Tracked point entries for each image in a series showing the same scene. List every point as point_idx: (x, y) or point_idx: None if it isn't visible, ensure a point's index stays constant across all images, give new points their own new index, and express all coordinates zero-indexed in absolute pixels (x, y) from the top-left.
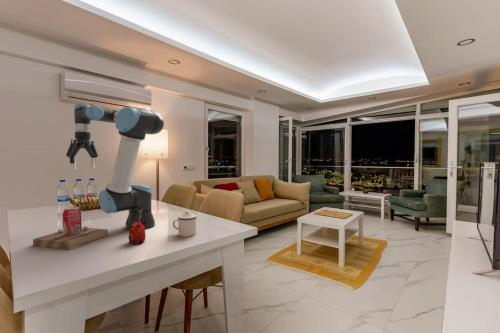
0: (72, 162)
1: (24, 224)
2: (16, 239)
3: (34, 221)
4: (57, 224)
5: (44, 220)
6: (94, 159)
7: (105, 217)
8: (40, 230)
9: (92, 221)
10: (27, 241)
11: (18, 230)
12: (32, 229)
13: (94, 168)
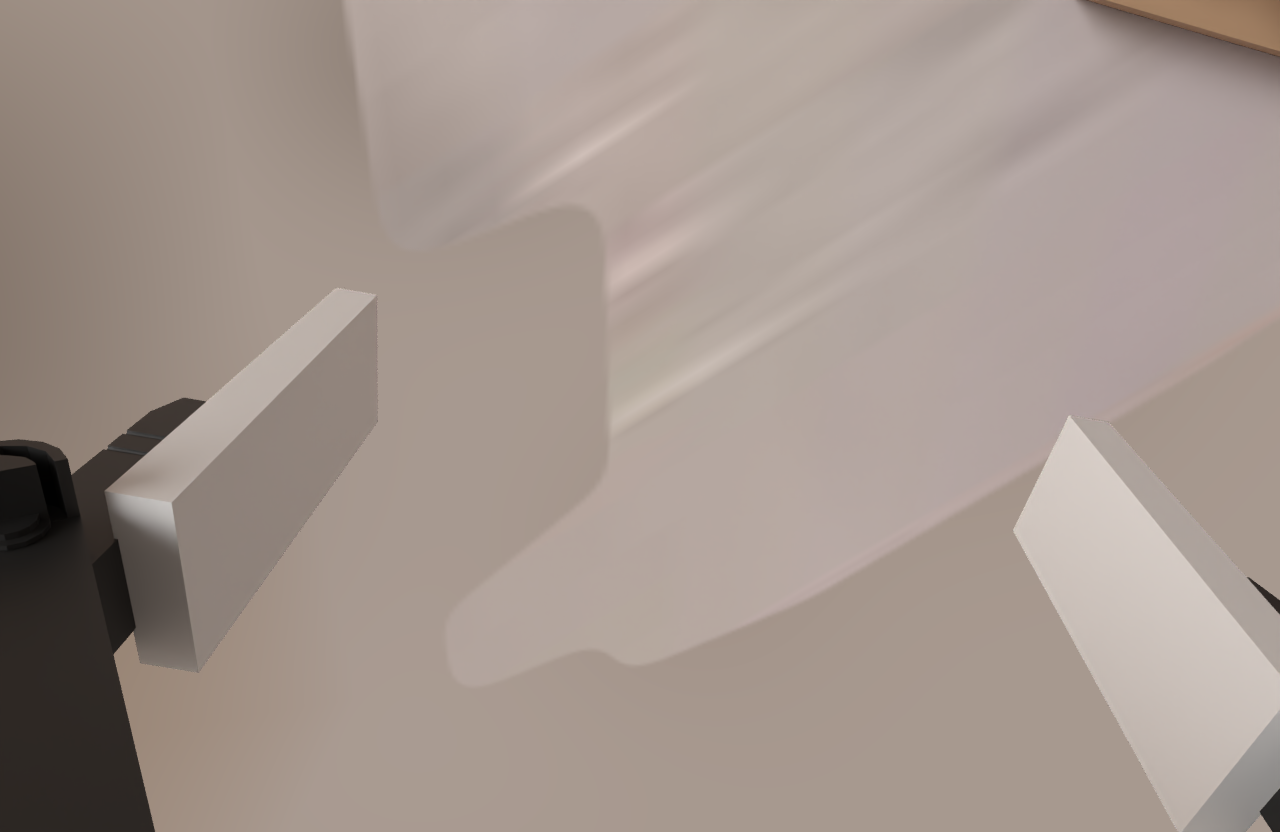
0: (1270, 598)
1: (696, 605)
2: (1167, 372)
3: (601, 602)
4: (707, 376)
5: (565, 558)
6: (168, 447)
7: (389, 66)
8: (908, 379)
9: (587, 108)
10: (1267, 249)
11: (880, 530)
12: (864, 458)
13: (348, 291)
